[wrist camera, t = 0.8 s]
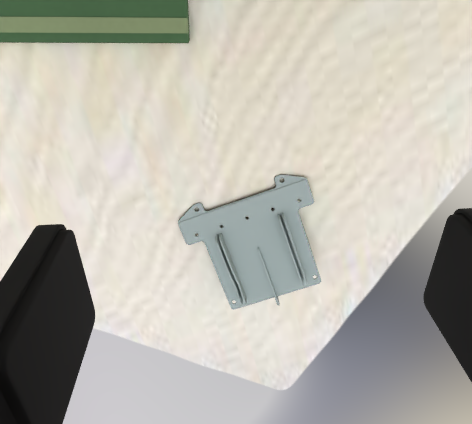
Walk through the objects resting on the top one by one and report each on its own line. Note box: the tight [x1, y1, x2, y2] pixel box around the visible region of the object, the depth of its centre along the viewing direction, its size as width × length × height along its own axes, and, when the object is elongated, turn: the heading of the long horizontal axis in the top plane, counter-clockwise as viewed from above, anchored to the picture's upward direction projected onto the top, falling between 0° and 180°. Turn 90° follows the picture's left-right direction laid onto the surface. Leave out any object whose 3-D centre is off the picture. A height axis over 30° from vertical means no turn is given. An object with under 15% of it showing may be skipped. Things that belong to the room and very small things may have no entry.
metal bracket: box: [178, 174, 321, 309], centre depth 47 cm, size 14×6×15 cm
